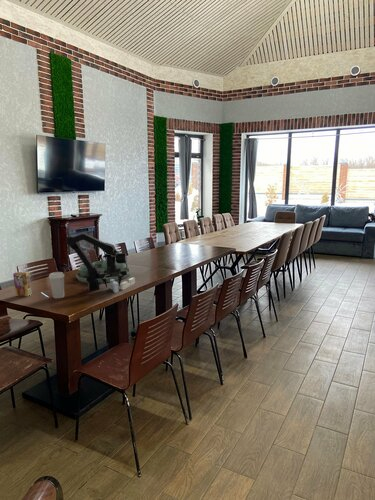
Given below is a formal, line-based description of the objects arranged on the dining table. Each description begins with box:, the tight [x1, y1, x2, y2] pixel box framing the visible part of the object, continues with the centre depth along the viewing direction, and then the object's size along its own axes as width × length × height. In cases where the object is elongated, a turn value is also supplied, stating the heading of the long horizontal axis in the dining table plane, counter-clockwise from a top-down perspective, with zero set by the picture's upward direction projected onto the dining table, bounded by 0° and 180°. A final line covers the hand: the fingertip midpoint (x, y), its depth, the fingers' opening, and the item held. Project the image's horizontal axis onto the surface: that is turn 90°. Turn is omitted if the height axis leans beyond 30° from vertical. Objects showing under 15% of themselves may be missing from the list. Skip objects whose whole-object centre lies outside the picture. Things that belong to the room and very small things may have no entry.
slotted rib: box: [120, 277, 136, 291], centre depth 248 cm, size 16×2×4 cm, turn 160°
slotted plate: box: [109, 279, 119, 294], centre depth 240 cm, size 12×2×6 cm, turn 25°
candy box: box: [12, 271, 33, 297], centre depth 234 cm, size 9×4×15 cm, turn 82°
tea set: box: [75, 250, 131, 284], centre depth 277 cm, size 40×40×16 cm
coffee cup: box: [48, 271, 66, 299], centre depth 229 cm, size 10×10×15 cm
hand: (112, 286), depth 244 cm, fingers open, 8 cm apart
